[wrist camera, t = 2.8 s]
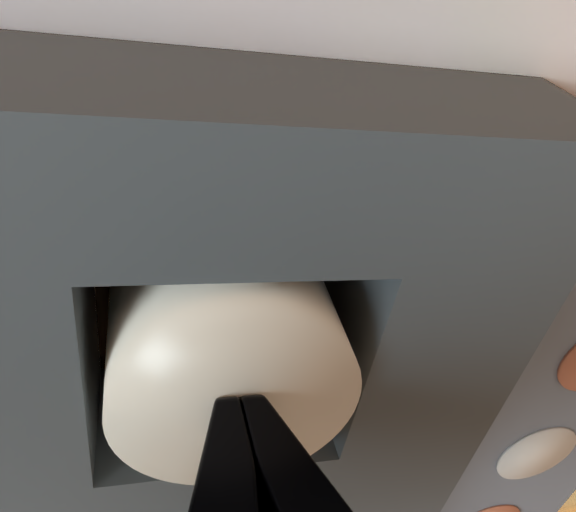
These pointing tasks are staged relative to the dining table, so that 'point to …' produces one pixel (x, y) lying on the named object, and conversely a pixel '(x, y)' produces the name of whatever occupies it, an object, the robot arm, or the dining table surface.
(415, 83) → the button board
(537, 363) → the pattern card
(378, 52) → the dining table surface
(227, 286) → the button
